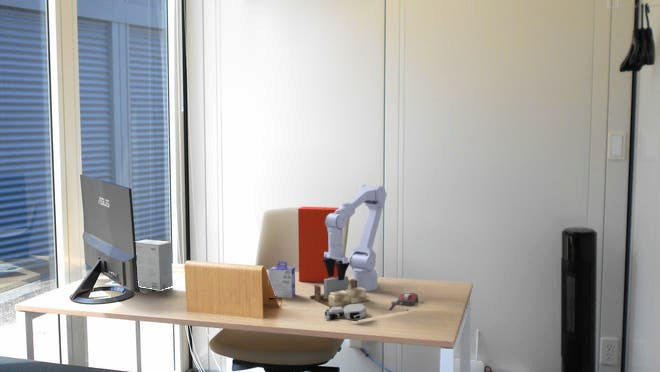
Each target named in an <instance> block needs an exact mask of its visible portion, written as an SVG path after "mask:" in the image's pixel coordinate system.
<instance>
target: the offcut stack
mask: <svg viewBox="0 0 660 372" xmlns="http://www.w3.org/2000/svg"><path fill="white" fill-rule="evenodd" d="M328 297H329V305H331V306H334V307H335V306H341V305H346V304H350V303H357V302H362V301H366V299H367V291H366V289H364V288H361V287H359V288H353V289H351V288H348V289H347V290H345V291H343V290H342V291H336V292H331V293H330V295H328ZM362 303H363V302H362ZM357 304H358V303H357ZM346 306H347V305H346ZM341 307H342V306H341Z"/></svg>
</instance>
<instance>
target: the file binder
mask: <svg viewBox="0 0 660 372" xmlns="http://www.w3.org/2000/svg"><path fill="white" fill-rule="evenodd" d="M339 208H340V207H327V206H325V207H323V206H302V207H300V208H298V209H297V218H298V220H297V224H298V225H297V226H298V229H297V230H298V237H297V238H298V281H299V282H307V283H308V282H309V283H310V282H311V283H324V279H328V278H334V277H338V272H337V268H336V265H335V267H334V276H330V277H329V276H328V273H327V269H326V266H325V264H324V262H323V259H325V258H326V257H324V252H329V244H328V231H327V226H326V224H325V221H326V217H327V216H328V215H329V214H330V213H334V212H335V211H336V210H337V209H339ZM338 262H339V261H337V260H336V262H335V263H338Z"/></svg>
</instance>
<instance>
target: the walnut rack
mask: <svg viewBox="0 0 660 372" xmlns="http://www.w3.org/2000/svg"><path fill="white" fill-rule="evenodd" d="M353 288H357V280H354V278H351V279H350V289H353ZM309 299H311V300H312V301H314V302H317V303H319V304H322V305H324V306H327V307H328V308H330V307H334V306H331V305H329V297H324V293H322V288H321V285H319V284H316V285H314V295H309ZM367 302H372V300H370V299H368V298H366V301H362V302H357V303H350V304H363V303H367ZM347 305H349V304H346V305H341V306H335V307H345V306H347Z"/></svg>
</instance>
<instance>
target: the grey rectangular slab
mask: <svg viewBox="0 0 660 372" xmlns="http://www.w3.org/2000/svg"><path fill="white" fill-rule="evenodd" d="M347 289H349V276H347V275H345V277H344V280H340V281H339V280H338V277H334V278H328V279H324V282H323V294H324V297H328V295H330V293H331V292H336V291H342V290H343V291H345V290H347Z"/></svg>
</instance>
